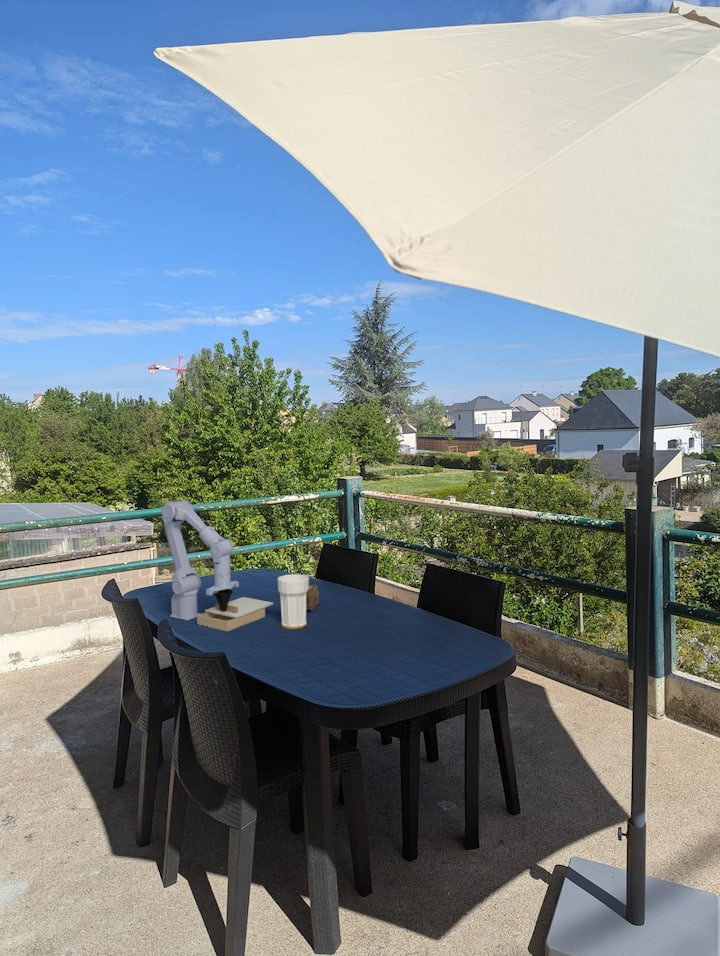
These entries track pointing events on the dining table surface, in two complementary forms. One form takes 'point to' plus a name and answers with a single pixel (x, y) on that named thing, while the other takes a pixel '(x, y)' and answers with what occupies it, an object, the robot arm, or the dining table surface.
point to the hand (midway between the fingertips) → (223, 610)
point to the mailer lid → (240, 607)
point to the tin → (312, 597)
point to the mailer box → (228, 620)
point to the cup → (293, 600)
